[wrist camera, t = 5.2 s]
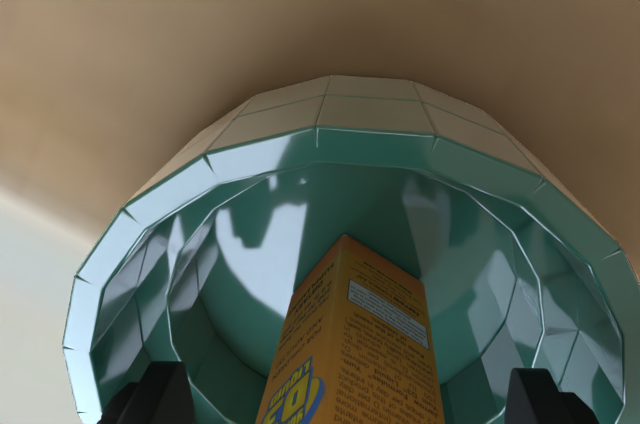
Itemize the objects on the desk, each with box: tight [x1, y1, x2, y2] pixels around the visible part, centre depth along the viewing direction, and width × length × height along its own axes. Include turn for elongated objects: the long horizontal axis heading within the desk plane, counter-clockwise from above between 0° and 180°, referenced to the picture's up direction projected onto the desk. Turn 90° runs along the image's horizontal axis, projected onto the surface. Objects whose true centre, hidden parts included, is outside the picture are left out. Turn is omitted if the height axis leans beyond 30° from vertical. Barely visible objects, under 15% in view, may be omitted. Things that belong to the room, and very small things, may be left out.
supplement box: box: [255, 234, 445, 424], centre depth 11 cm, size 3×4×10 cm
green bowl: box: [62, 75, 640, 424], centre depth 14 cm, size 13×13×5 cm
